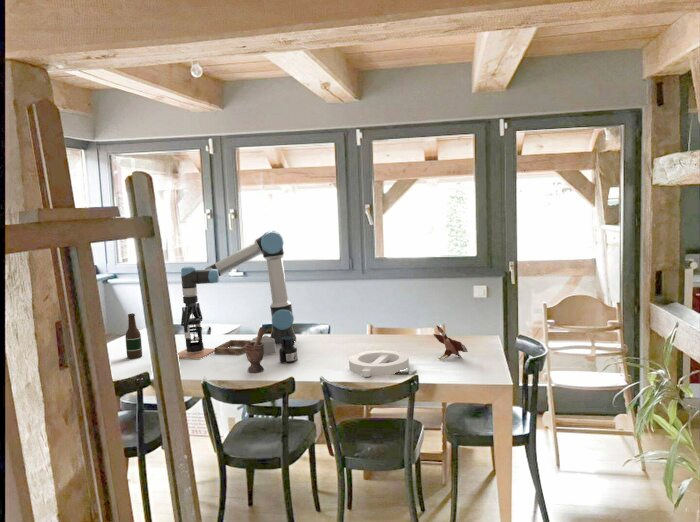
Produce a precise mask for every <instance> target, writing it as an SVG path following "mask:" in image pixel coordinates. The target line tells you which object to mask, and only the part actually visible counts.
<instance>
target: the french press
mask: <svg viewBox="0 0 700 522" xmlns="http://www.w3.org/2000/svg"><path fill="white" fill-rule="evenodd" d="M193 310H195V309H193ZM191 316H192V317H190V320H189V324H188V326H189V330H190V334H192V333H193V334H195V333H196V332H198V333H197V336H196V335H193V336H191V335H190V338H185V348H186V349H187V350H186V351H187V352H198V351H202V350H204V348H205V347H204V346H205V345H204V342H203V335H202V331H203V327H202V326H201V327H196V324H201V323H202V321H201V318H195V317H194V315H193V313H192V314H191ZM190 326H191V327H190ZM196 329H197V330H196Z"/></svg>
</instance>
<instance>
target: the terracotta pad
mask: <svg viewBox="0 0 700 522" xmlns="http://www.w3.org/2000/svg"><path fill="white" fill-rule="evenodd" d="M186 350H187V348H185V349H184V350H181V351H179V352H177V353H178V355H179V359H180V358H202V359H204V358H206V357H208V356H210V355H212V354H214V353H215V348H206V347H204V350H202V351H198V352H187V351H186ZM213 352H214V353H213ZM211 353H212V354H211ZM209 354H210V355H209ZM207 355H208V356H207ZM205 356H206V357H205ZM203 357H204V358H203ZM179 359H178V360H179ZM180 360H181V359H180Z"/></svg>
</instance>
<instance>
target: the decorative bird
mask: <svg viewBox="0 0 700 522" xmlns="http://www.w3.org/2000/svg"><path fill="white" fill-rule="evenodd" d="M436 328H437V331H438V332H439V333H440V334H437V333H435V334H434V333H433V337H434V338H436V339H437V341H438V342H439V343H441V344H443V345H444V347H445V351H444V353H443V354H442V355H441V356H440V357H438V359H439V360H441V361H445V359H447V358H449V357H451V355H455V356H456V357H459V358H462V356H461V354H460V353H459V352H462V353H468V349H467V347H466V346H465V344H463V343H462V342H461V341H459V340H455V339H452V338H451V337H448V336H447V333H445V331H444V329H443V328H442V326H441V327H440V326H439V325H436Z"/></svg>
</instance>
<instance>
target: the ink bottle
mask: <svg viewBox="0 0 700 522" xmlns="http://www.w3.org/2000/svg"><path fill="white" fill-rule="evenodd" d="M295 342H296V341H295ZM295 342H294V337H291V336H287V337H282V338H281V344H280V347H279V349H278V352H279V353H278V354H279V362H280V363H282V364H293V363H296V362H297V361H298V348H297V346H296V345H295Z"/></svg>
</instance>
